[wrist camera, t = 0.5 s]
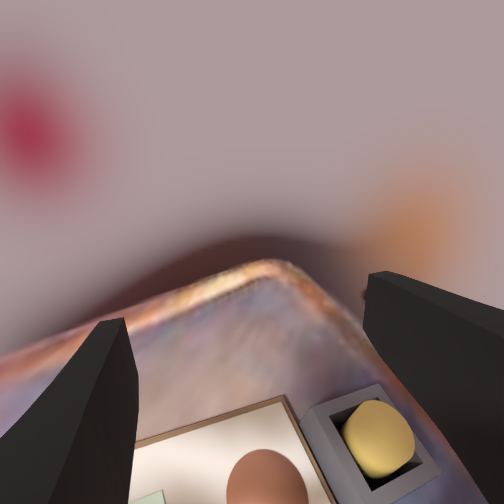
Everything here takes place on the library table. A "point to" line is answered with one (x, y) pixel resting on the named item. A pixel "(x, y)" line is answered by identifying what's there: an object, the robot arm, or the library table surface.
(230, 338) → the library table surface
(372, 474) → the button
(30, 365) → the library table surface
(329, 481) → the button base
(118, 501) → the robot arm
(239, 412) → the colouring board
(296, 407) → the library table surface
